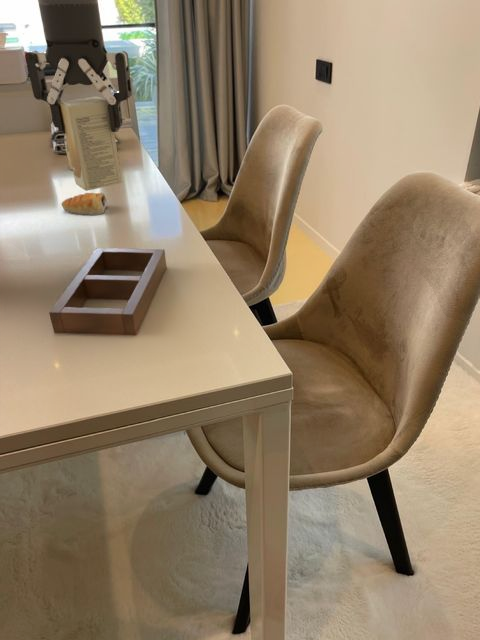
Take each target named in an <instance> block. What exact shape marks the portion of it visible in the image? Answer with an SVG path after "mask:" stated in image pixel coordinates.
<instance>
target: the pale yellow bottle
mask: <svg viewBox="0 0 480 640" xmlns="http://www.w3.org/2000/svg"><path fill="white" fill-rule="evenodd" d="M64 139H65V147H66V157H67V163H68V166H67V167H68V169H69V170H70V171H73V168H72V163H71V158H70V153H69V148H68V143H67V139H66V134H65V136H64Z"/></svg>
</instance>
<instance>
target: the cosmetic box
mask: <svg viewBox="0 0 480 640" xmlns="http://www.w3.org/2000/svg"><path fill="white" fill-rule="evenodd" d="M59 104H60V109H61V114H62V119H63V124H64V129H65V134H66V139H67V143H68V148H69V153H70V158H71V163H72V168H73V170H72V173H73V177H74V182H75V185H76V186H77V187H79V188H81V189H82V190H84V191H86V192H88V191H91V190H96V189H97V190H98V189H101V188H105V187H109V186H114V185H118V184H122V183H123V179H122V178H123V177H122V172H121V167H120V160H119V153H118V146H117V147H116V141H115V139H116V135H115V132H111V127H110V120H109V113H108V105H109V103H108V101H107V100H106V99H105V98H103V97H100V96H90V97H84V98H77V99H69V100H61V102H59Z"/></svg>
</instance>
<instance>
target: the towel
mask: <svg viewBox="0 0 480 640" xmlns="http://www.w3.org/2000/svg"><path fill="white" fill-rule="evenodd" d="M64 136H65V132H59V130H58V127H55V126H54V124H53V122H52V123H51V124H50V139H51V141H52V148H53V152H54V153H56V154H66V155H67V153H66V147H65V139H64ZM115 141H116V147H117V148H118V144H119V143H118V140H117V139H116V138H115Z"/></svg>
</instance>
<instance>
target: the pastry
mask: <svg viewBox="0 0 480 640" xmlns="http://www.w3.org/2000/svg"><path fill="white" fill-rule="evenodd" d="M108 204H109V202H108V200H107V197H106V195H105V193H104V192H102V191H101V192H96V193H95V192H85V193H80V194H78V195H74V196H73V197H69V198H67V199H65V200H64V201H63V202H61V207H62V208H63V210H64V211H65V212H67V213H68V214H76V215H84V216H85V215H87V216H88V215H92V216H98V215H101V214H102V215H103V214H104V212H105V211H106V207H107V206H108Z"/></svg>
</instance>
